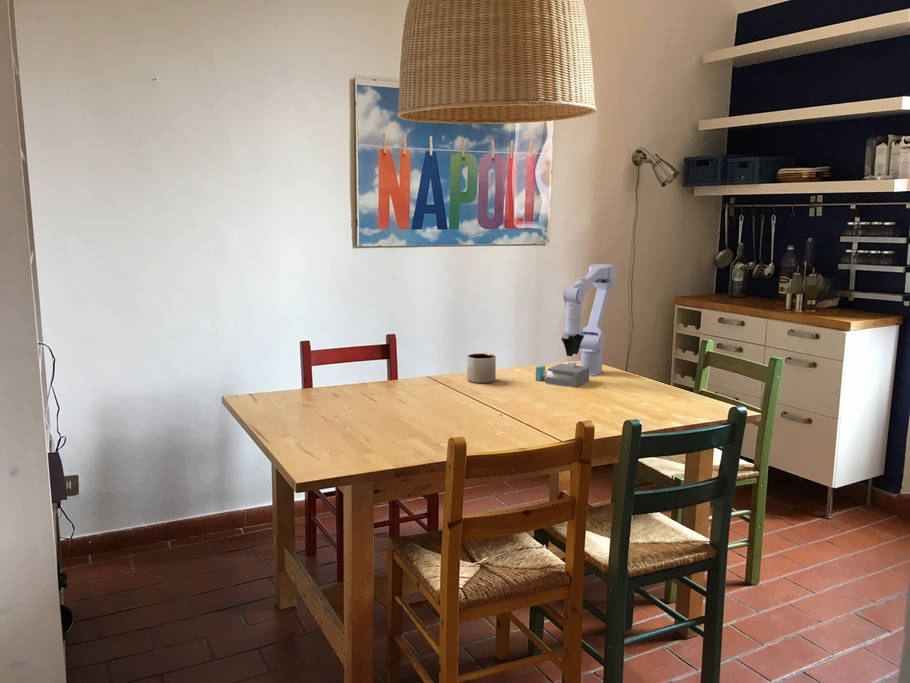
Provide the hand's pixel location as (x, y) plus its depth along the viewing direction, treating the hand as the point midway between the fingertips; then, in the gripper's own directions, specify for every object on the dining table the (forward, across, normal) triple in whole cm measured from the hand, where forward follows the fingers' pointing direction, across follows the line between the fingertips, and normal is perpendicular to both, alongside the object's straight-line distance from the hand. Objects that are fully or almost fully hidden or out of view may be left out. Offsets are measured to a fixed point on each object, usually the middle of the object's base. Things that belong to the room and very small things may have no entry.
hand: (572, 354), depth 300 cm
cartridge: (+10, +5, -4) cm, 12 cm away
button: (+5, 0, 0) cm, 5 cm away
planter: (+10, +18, -29) cm, 36 cm away
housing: (+10, +4, 0) cm, 11 cm away
